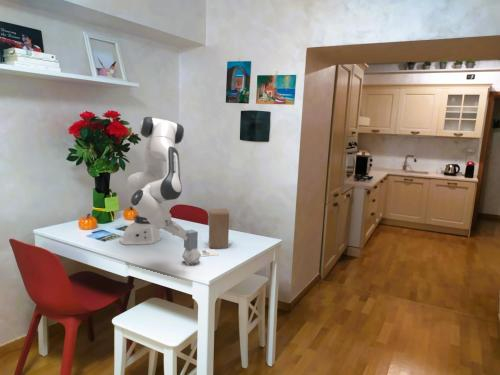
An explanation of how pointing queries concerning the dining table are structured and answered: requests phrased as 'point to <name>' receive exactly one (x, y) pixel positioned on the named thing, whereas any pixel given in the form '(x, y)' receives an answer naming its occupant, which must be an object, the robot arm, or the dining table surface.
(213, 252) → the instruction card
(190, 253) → the die
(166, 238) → the dining table surface
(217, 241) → the block
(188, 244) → the brick
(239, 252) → the dining table surface
